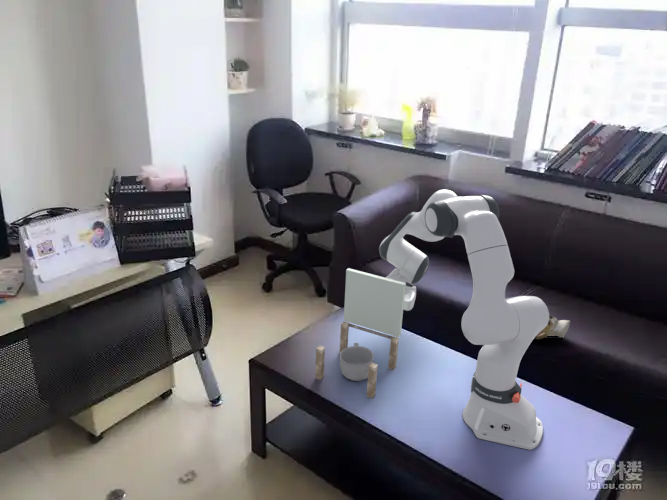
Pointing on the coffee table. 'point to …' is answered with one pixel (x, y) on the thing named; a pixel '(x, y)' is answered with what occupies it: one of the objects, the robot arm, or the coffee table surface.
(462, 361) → the coffee table surface
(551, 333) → the ceramic sculpture
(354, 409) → the coffee table surface
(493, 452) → the coffee table surface
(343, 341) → the stand
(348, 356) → the teacup
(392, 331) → the lid
